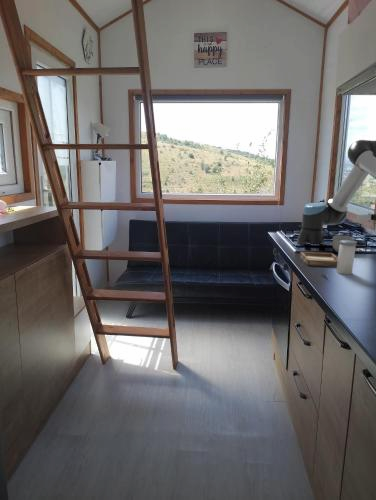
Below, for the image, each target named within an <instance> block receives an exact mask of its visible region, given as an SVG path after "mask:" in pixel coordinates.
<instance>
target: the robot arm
mask: <svg viewBox="0 0 376 500" xmlns="http://www.w3.org/2000/svg"><path fill="white" fill-rule="evenodd" d="M347 157H348V160H349V162H350V163H351V164H352V165H353V167H352V168H351V170H350V171H349V173H348V175H347V176H346V178H345V179H344V181H343V182H342V184H341V185H340V186H339V189H338V190H337V191H336V193H335V195H334V196H333V198H332V197H331V198H330V199H328V201H327V202H326V204H325V203H324V202H310V203H306V204H305V205H304V206H303V210H302V221H301V229H300V231H299V234H298V237H297V240H296V243H297V244H298V245H302V246H305V245H304V244H306V243H311V244H321V243H323V244H324V245H325V239H324V233H323V228H324V226H336V225H340V224H343V223H344V222H345V221H346V219H347V217H348V205H349V203H350V202H351V200H352V199H353V197H354V196H355V194H356V193H357V191H358V190H359V188H360V187H361V186H362V184H363V183H364V181H365V180H366V178H367V177H368V175H370V176H371V177H372V178H373V179H375V180H376V140H366V139H359V140H355V141H354V142H352V143H351V145H349V147H348V149H347ZM356 217H357V218H356V222H357V221H358V222H359V221H360V222H363V221H364V222H367V221H368V222H371V221H376V213H375V214H373V213H367V214H357V216H356Z"/></svg>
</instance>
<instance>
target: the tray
mask: <svg viewBox="0 0 376 500" xmlns="http://www.w3.org/2000/svg"><path fill="white" fill-rule="evenodd" d="M299 252H300V253H299V257H300V258H301V260H302V261H303V262H304V264H305V265H306V266H311V267H313V266H315V267H331V268H332V267H335V268H337V262H338V256H336V255H335V254H334V253H332V252H312V251H309V252H308V251H299Z"/></svg>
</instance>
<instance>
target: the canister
mask: <svg viewBox="0 0 376 500" xmlns="http://www.w3.org/2000/svg"><path fill="white" fill-rule="evenodd" d="M357 243H358V242H357V241H355V240H354V241H350V240H340V246H339V252H338V253H337V254H338V255H337V257H338V262H337V267H336V271H335V272H336V273H337V274H340V275H345V276H349V275H352V274H353V269H354V260H355V255H356V254H355V253H356V248H357V247H356V246H357Z"/></svg>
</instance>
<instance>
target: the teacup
mask: <svg viewBox="0 0 376 500" xmlns="http://www.w3.org/2000/svg"><path fill="white" fill-rule="evenodd" d="M340 240H350V241H355V237H353V236H350V235H339V234H338V235H334V236H332V248H333V250H334V251H335V252H337V253H339V246H340Z"/></svg>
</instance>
